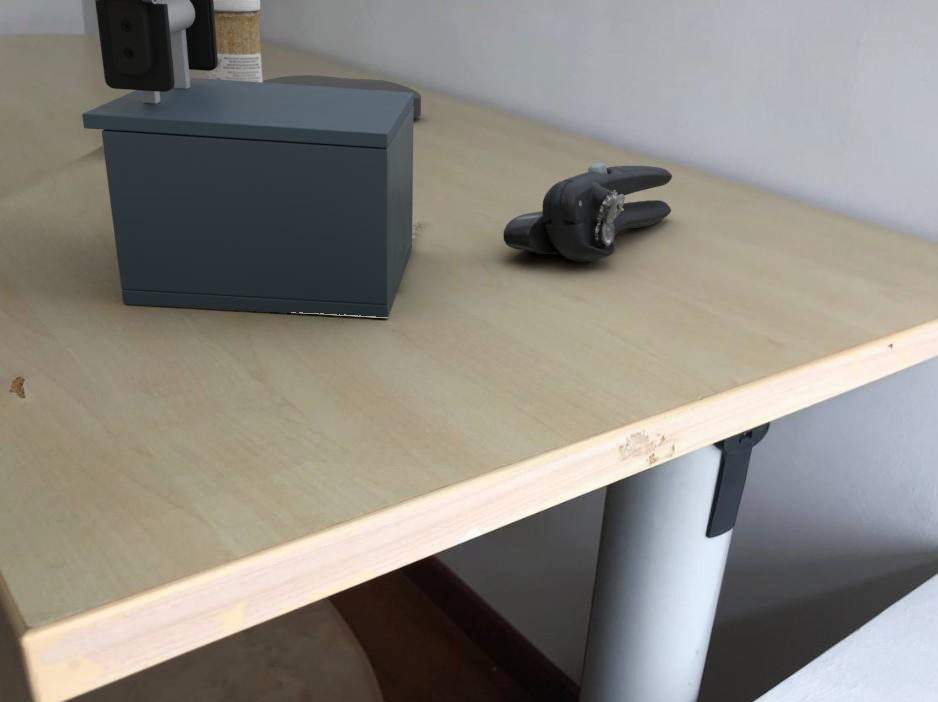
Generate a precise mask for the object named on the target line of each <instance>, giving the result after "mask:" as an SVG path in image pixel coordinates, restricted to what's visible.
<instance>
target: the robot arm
mask: <svg viewBox="0 0 938 702" xmlns="http://www.w3.org/2000/svg"><path fill="white" fill-rule="evenodd" d="M94 1H95V2H94V3H95V12H96V19H97V28H98V34H99V43H100V44H99V45H100V51H101V61H102V67H103V76H104V81H105V82H104V83H105V84H106V86H108V87H109V88H111V89H115V90H128V91H129V90H130V91H136V90H142V91H157V92H167V91H169V90H171V89H173V87H174V85H175V81H174V70H173V59H172V48H171V37H170V27H169V16H168V5H167V4H160V3H158V0H94ZM189 1H190V2H191V3H192V5H193V7H194V10H195V19H194V22H193V24H192V25H191V26H190V27H188V28H187V29H185V30H186V42H187V54H188V65H189V71H190V70H191V71H205V72H206V71H211V70H213V69H215V68H216V67H217V66H218V56H217V43H216V29H215V16H214V2H213V0H189Z"/></svg>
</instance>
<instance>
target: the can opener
mask: <svg viewBox="0 0 938 702" xmlns="http://www.w3.org/2000/svg"><path fill="white" fill-rule="evenodd" d="M672 178H673V174H672V173H671V172H670V171H669V170H667V169H666V168H663V167H659V166H652V165H651V166H650V165H616V166H608V167H607V165H606V164H605V163H604V162H595V163H592V164H590V165H589V167H588V168H587V171H586V172H583V173H580V174H577V175H575V176H571V177H568V178H565V179H563V180H561V181H558V182H557V183H555V184H553V185H552V186H551V187H550V188H549V189H548V191H546V193H545V195H544V198H543V200H542V210H541V211H534V212H528V213H523V214H521V215H518V216H516V217H514V218H512V219H511V220H510V221H508V223H507V224H506V225H505V227H504V230H503V233H502V234H503V235H502V236H503V237H502V238H503V241H504V243H505V245H507V246H508V247H510V248H511V249H514V250H519V251H525V252H530V253H536V254H537V253H538V254H542V255H555V254H560V255H561V256H563V257H564V258H566V259H568V260H570V261H573V262H581V263H582V262H584V263H585V262H591V261H596V260H601V259H605V258H608V257H610V256H612V255H613V254H614V253H615V251H616V246H615V244H614V237H616V235H617V234H618V233H619V232H620V231H621V230H623V229H641V228H644V227H650V226H652V225H654V224H656V223H659V222H660V221H662V220H664V219H665V218H668V216H669V215H670V214H671V212H672V208H671V206H670V205H668V203H667V202H665V201H663V200H657V199H654V200H653V199H652V200H639V201H631V202H630V201H629V202H625V199H626V197H625V196H627V195H631V194H634V193H637V192H641V191H645V190H649V189H655V188H659V187H662V186H663V187H664V186H665V185H667V184H668V183H669V182H670V181H671V180H672Z"/></svg>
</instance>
